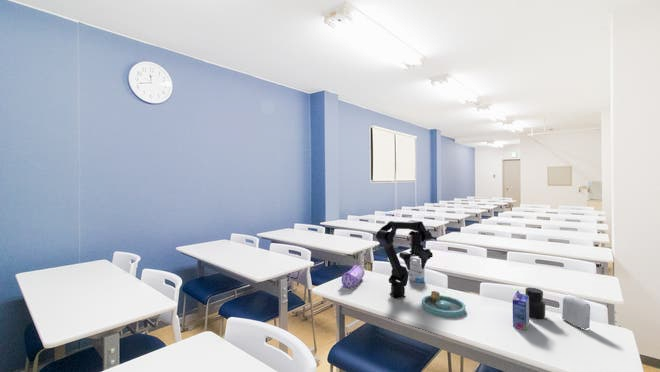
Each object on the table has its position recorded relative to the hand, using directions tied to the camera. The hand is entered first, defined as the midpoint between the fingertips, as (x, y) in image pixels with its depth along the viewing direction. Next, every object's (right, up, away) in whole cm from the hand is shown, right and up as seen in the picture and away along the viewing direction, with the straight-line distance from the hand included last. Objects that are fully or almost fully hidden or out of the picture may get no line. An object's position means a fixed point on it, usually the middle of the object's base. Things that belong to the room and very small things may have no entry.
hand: (415, 269), depth 171 cm
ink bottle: (+47, -13, -30) cm, 57 cm away
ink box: (+5, -12, +17) cm, 21 cm away
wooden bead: (+5, -12, -17) cm, 21 cm away
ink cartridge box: (+35, -14, -39) cm, 54 cm away
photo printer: (+60, -14, -39) cm, 72 cm away
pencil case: (-35, -12, +12) cm, 39 cm away
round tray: (+7, -13, -23) cm, 27 cm away
